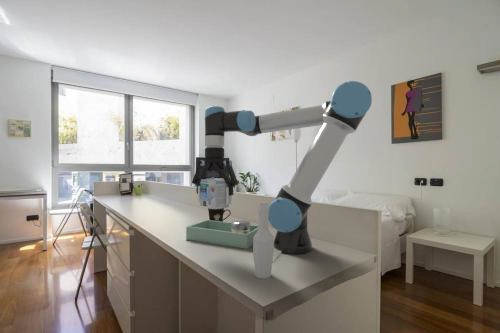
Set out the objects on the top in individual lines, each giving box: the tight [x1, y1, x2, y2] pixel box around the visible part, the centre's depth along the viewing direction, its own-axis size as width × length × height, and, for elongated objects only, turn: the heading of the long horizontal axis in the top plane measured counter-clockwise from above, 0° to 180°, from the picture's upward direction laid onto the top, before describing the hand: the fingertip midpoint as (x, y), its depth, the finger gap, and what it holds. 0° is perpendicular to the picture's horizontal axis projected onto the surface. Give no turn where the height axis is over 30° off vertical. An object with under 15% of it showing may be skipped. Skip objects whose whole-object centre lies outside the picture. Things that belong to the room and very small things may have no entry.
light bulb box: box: [199, 178, 230, 209], centre depth 99 cm, size 11×7×11 cm, turn 44°
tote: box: [185, 219, 259, 249], centre depth 113 cm, size 30×16×6 cm, turn 65°
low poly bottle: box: [252, 201, 275, 279], centre depth 77 cm, size 6×6×22 cm
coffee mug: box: [207, 207, 232, 222], centre depth 138 cm, size 12×9×10 cm
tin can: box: [230, 219, 251, 234], centre depth 109 cm, size 8×8×8 cm
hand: (214, 203), depth 99 cm, fingers closed on light bulb box, 12 cm apart
